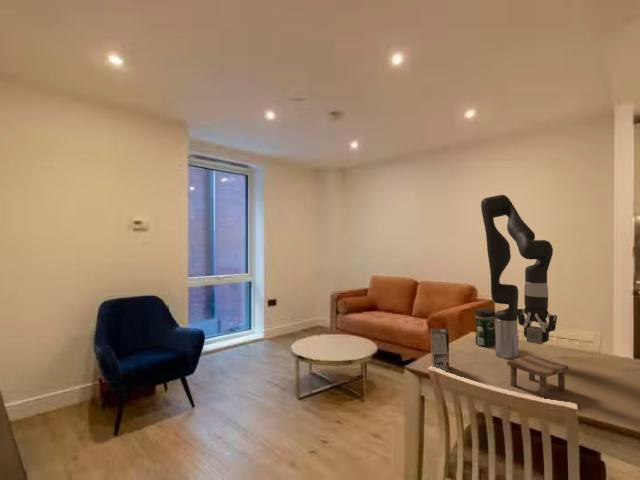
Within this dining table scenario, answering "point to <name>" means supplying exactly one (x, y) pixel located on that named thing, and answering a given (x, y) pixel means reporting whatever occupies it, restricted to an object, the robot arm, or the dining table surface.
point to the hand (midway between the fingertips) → (536, 339)
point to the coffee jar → (485, 327)
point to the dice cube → (534, 335)
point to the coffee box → (440, 348)
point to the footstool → (538, 371)
